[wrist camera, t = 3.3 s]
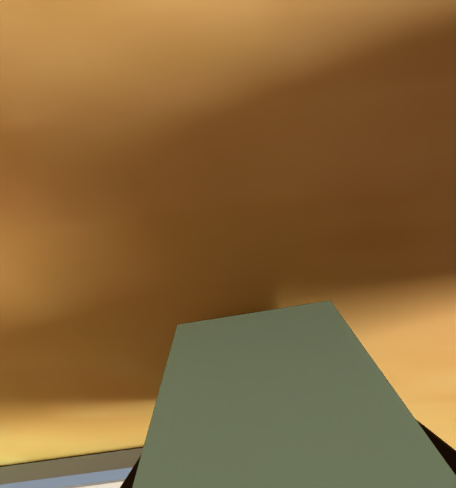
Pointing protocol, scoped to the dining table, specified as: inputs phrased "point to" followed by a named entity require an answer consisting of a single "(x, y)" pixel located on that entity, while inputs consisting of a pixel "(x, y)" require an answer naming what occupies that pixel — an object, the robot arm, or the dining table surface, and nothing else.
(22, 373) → the dining table surface
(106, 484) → the board
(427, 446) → the teal block
